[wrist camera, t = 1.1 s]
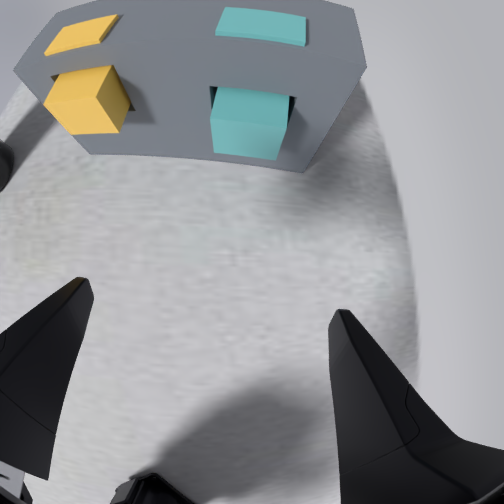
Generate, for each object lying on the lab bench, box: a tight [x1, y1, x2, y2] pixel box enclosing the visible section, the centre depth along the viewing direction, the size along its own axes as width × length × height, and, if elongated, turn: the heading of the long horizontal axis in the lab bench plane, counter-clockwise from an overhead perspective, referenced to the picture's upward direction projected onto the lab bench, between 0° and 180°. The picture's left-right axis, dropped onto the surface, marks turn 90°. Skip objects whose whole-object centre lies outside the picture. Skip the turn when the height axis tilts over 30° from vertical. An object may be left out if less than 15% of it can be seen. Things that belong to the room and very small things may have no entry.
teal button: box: [210, 87, 289, 161], centre depth 16 cm, size 4×4×4 cm
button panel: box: [13, 0, 367, 173], centre depth 16 cm, size 6×20×14 cm, turn 83°
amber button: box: [43, 65, 131, 135], centre depth 13 cm, size 4×4×4 cm
